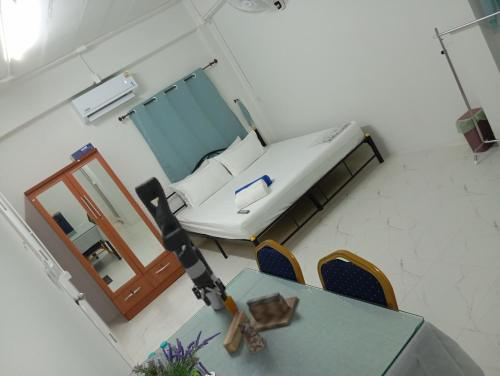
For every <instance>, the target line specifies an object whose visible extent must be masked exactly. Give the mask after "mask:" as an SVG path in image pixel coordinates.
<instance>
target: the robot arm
mask: <svg viewBox="0 0 500 376" xmlns="http://www.w3.org/2000/svg"><path fill="white" fill-rule="evenodd" d="M134 191H135V193H136V195H137V197H138V198H139V200H140V201H141V202H142V204H143V205H144V207H145V208H146V209H147V211H148V212H149V214H150V215H151V217H152V218H153V220H154V221H155V223H156V225H157V227H158V229H159V230H160V232H161V238H162V245H163V247H164V249H165V250H166V251H167V252H170V253H174V254H175V255H176V257H177V259H178V261H179V263H180V264H181V266H182V267H183V269H184V270H185V272H186V274H187V276H188V278H190V280H191V282H192V283H193V287H192V288H191V291H192V292H193V294H194V295H195V298H196V299H197V300H198V301H199V300H201V301H203V302H204V304H205V305H206V306H207V307H211V308H212V310H217V311H219V310H222V309H224V308H226V307H225V306H224V304H223V302H226V300H227V296H229V294H228V292H227V291H226V289H227V287H226V285H225V284H224V283H223V281H222V280H221V279H220V278H219V277H217V275H216V274H215V272H214V270H213V269H212V267H210V265H209V263H208V262H207V260H206V258H205V256H204V254H203V253H202V251H201V250H200V249H199V248H198V247H197V246H192V243H191V240H190V236H189V232H188V231H187V230H186V229H185V228H183V226H182V224H181V223H180V221H179V220H178V219H179V218H177V217H176V215H174V214H173V212H172V209H171V208H170V207H171V206H170V205H169V201H168V199H167V196H166V193H165V189H164V188H163V186H162V183H161V182H160V181H159V179H158V178H157V177H155V176H152V177H149V178H147V179H146V180H144V181H142V182H140V183H138V184H137V185H135V187H134ZM157 198H158V201H157V206H156V205H155V204H154V203H153V202H152V201H154V200H156V199H157ZM183 247H184V249H183ZM224 292H226V295H225V293H224ZM219 296H220V298H219ZM222 300H223V301H222Z"/></svg>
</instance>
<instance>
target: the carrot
mask: <svg viewBox="0 0 500 376" xmlns="http://www.w3.org/2000/svg"><path fill="white" fill-rule="evenodd" d="M224 293H225V295H226V293H227V291H226V292H224ZM219 298H220V296H219ZM222 301H223V300H222ZM223 304H224V306H225V307H224V308H226V310H227V311H228V312H229V313H230V314H231V315H232V316H233V317H234V316H235V314H236V312H239V309H238V307H237V306H238V305H237V304H236V301H234V299H233V297H232V296H231V295H228V296H227V300H226V302H223Z"/></svg>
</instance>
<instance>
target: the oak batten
mask: <svg viewBox="0 0 500 376" xmlns="http://www.w3.org/2000/svg"><path fill="white" fill-rule="evenodd" d="M244 322H249V317H248V316H247V314H246V312H245V311H244V310H240V311H238V312H236V314H235V316H234V315H233V318H232V321H231V323H230V326H229V329H228V331H227V333H226V335H225V339H224V341H223V343H222V346H223V347H224V349H225V350H226V352H227V354H232V353H235V352H237V351H238V348H239V346H240V343H241V340H242V337H243V335H242V334H241V332H240V328H239V327H238V324H240V325H242V324H243V323H244Z"/></svg>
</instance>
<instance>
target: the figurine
mask: <svg viewBox="0 0 500 376" xmlns="http://www.w3.org/2000/svg"><path fill="white" fill-rule="evenodd" d="M238 327H239V328H240V332H241V334H242V337H243V340H244V342H245V345H246V348H247V350H248V351H249V352H250V353H251V354H257V353H258V352H260V351H261V350H263V349H264V348H265V346H266V341H265V338H263V336H261V335H260V333H259V331H256V329H255V328H253V327H252V326H251V325H250V323H249V321H247V322H244V323H243V324H242V325H240V324H238Z"/></svg>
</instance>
